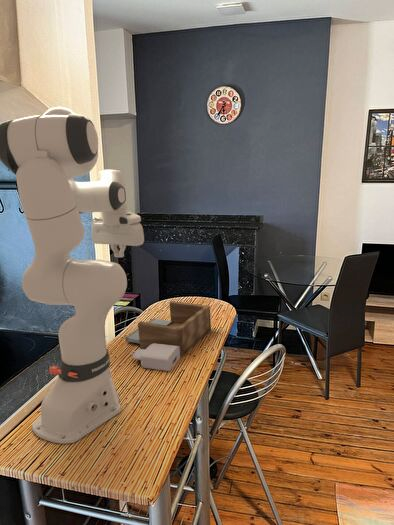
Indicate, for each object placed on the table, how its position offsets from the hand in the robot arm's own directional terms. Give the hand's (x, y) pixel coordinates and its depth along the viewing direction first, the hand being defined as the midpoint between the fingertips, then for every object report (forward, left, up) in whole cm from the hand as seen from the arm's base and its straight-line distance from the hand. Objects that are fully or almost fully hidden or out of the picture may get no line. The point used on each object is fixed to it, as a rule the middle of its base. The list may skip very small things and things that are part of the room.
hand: (119, 256), depth 141 cm
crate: (+2, -20, -29) cm, 35 cm away
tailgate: (+2, -13, -28) cm, 30 cm away
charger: (-15, -21, -30) cm, 39 cm away
